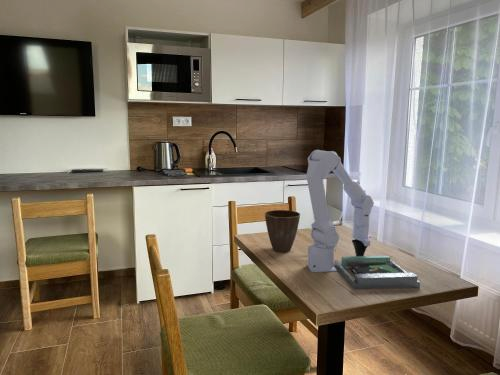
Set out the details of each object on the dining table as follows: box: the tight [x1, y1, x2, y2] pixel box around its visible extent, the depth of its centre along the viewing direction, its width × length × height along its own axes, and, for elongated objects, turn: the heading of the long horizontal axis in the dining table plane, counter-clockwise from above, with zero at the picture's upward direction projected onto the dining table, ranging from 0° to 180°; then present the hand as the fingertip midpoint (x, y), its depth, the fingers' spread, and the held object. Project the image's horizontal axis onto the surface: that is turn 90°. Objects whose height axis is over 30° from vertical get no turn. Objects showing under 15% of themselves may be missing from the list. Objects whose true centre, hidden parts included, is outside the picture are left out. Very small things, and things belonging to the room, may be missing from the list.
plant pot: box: [264, 209, 301, 253], centre depth 169 cm, size 15×15×16 cm
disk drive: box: [350, 264, 401, 275], centre depth 142 cm, size 10×3×15 cm
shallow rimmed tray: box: [333, 258, 421, 290], centre depth 141 cm, size 22×23×4 cm
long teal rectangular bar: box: [340, 255, 391, 270], centre depth 149 cm, size 18×2×4 cm, turn 95°
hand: (359, 258), depth 156 cm, fingers closed
